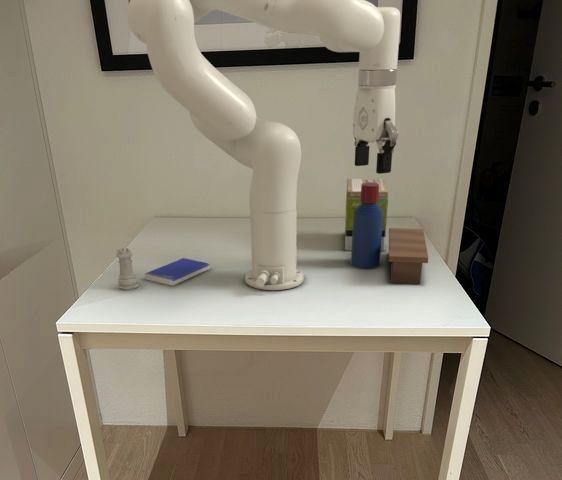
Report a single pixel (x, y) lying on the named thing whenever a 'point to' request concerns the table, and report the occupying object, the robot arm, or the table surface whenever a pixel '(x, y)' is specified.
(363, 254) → the bottle
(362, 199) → the cap
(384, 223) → the tea box
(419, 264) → the brown wooden box
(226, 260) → the table surface
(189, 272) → the blue book
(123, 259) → the rook chess piece
